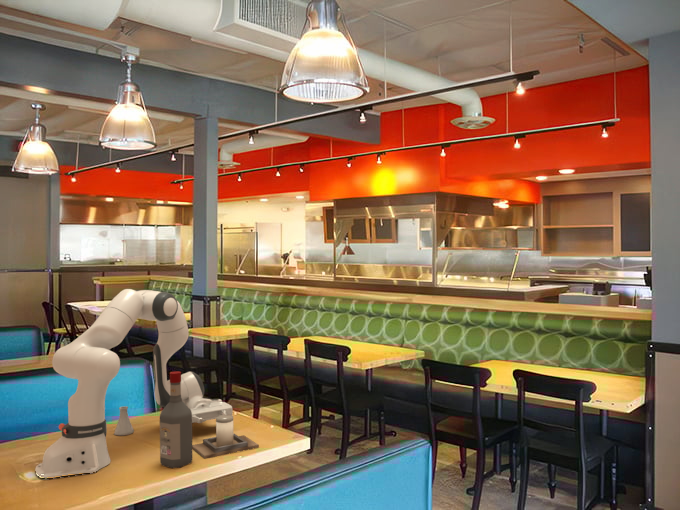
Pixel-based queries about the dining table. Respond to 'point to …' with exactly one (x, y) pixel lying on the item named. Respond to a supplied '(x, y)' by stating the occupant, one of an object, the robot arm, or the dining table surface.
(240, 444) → the locating board
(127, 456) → the dining table surface
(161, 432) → the liquor
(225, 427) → the spice jar
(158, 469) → the dining table surface
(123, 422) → the flask
